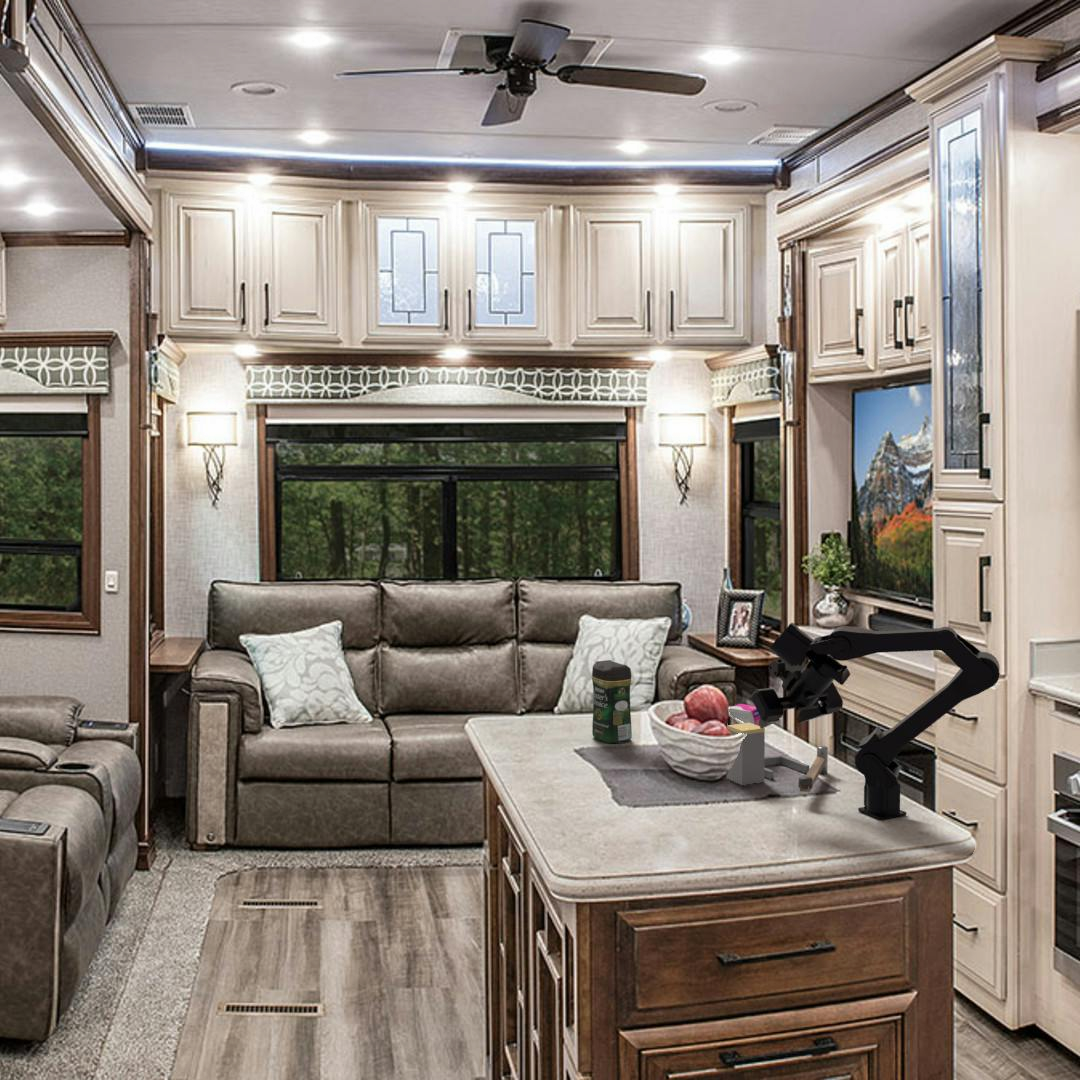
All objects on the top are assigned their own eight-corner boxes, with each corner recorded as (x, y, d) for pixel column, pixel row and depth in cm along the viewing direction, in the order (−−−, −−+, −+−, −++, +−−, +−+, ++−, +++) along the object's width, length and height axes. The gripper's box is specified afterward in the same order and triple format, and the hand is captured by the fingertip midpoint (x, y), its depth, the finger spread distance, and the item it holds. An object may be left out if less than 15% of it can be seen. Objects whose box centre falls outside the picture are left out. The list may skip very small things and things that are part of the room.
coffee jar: (586, 737, 294) (586, 659, 292) (615, 732, 298) (615, 656, 296) (608, 746, 285) (607, 666, 284) (637, 741, 289) (636, 663, 288)
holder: (809, 772, 261) (809, 765, 261) (769, 779, 257) (769, 771, 257) (781, 762, 270) (781, 754, 270) (742, 768, 266) (743, 760, 266)
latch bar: (827, 763, 259) (827, 752, 259) (811, 792, 239) (811, 780, 238) (814, 762, 260) (814, 751, 260) (797, 791, 240) (797, 779, 239)
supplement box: (749, 762, 270) (750, 711, 269) (725, 758, 274) (726, 707, 273) (762, 757, 275) (762, 706, 274) (738, 753, 278) (738, 702, 277)
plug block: (764, 782, 255) (764, 728, 254) (742, 785, 253) (742, 731, 252) (748, 775, 260) (749, 722, 259) (726, 779, 258) (727, 725, 257)
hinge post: (829, 773, 261) (829, 747, 260) (821, 774, 260) (821, 749, 259) (823, 770, 263) (823, 745, 262) (814, 772, 262) (814, 746, 261)
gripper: (834, 641, 246) (799, 686, 257) (756, 649, 238) (724, 695, 249) (860, 687, 240) (823, 731, 251) (781, 697, 232) (746, 742, 243)
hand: (779, 723), depth 248 cm, fingers open, 9 cm apart
